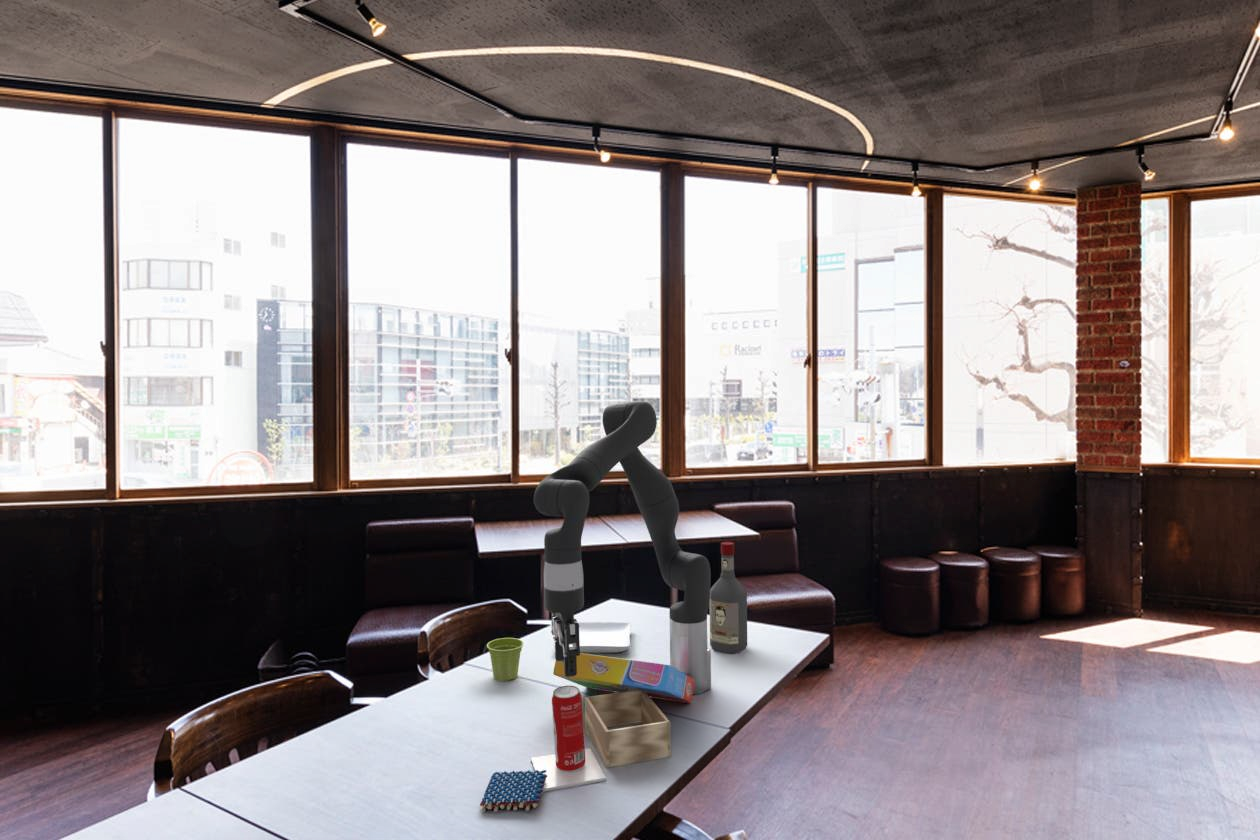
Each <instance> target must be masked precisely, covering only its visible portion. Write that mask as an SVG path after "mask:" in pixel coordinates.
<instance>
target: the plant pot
mask: <svg viewBox="0 0 1260 840" xmlns="http://www.w3.org/2000/svg"><path fill="white" fill-rule="evenodd" d="M523 646H524V641H523V640H522V639H520V638H515V637H503V638H496V639H493V640H491V641H489V642H488V643H486V647H487V650H488V652H489V655H490V661H491V669H492V676H493V678H494V679H495V681H497V682H499V681H500V682H508V681H510V680H515V679H516V678H517V677H518V674H519V668H520V667H519V665H520V657H521V652H522V648H523Z"/></svg>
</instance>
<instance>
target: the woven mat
mask: <svg viewBox="0 0 1260 840" xmlns="http://www.w3.org/2000/svg"><path fill="white" fill-rule="evenodd" d="M542 773H543V774H542ZM544 773H546V770H543V771H541V770H540V771H538V770H536V771H535V770H533V771H531V770H530V769H528V770H527V771H526V770H524V771H523V770H519V771H515V770H512V771H509V772H507V770H504V771H495V772H494V773H492V775H491V777H490V779H489V782H488V784H487V786H486V789H485V791H484V793H483V795H484V796H483V797H482V798H481V802H480V803H479V806H480V807H481V809H480V812H481V813H482V814H483V813H485V812H486V810H492V809H493V808H494V809H493V812H495V813H497V812H498V810H499V808H500V809H501V810H504V809H505V808H506V810H507V811H511V807H512V806H513V811H517V810H518V808H520V809H523V808H524V807H525V811H526V812H527V811H530V808H531V805H532V807H533V808H534V809H536V808H537V807H538V805H539V804H540V803H541V798H542V793H543V789H542V788H543V786H544V784H545V781H546V777H547V775H546V774H544Z"/></svg>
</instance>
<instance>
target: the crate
mask: <svg viewBox="0 0 1260 840" xmlns="http://www.w3.org/2000/svg"><path fill="white" fill-rule="evenodd" d="M584 721H585V725H584V727H585V729H584V730H585V731H586V733H587V735H588V736H589V738H590V740H591V742H592V744H593V746H594V747H595V748H594V749H596V752H598V756H600V758H601V760H602V762H603V764H604V765H605V767H606V768H607V769H608V768H612V767H618V766H619V767H620V766H625V765H629V764H630V765H631V764H635V763H642V762H646V761H647V762H648V761H653V760H659V759H664V758H670V757H671V721H670V720H669V719H668V718H667V716H666V715H665V714H664V713H663V711H662V710H661V709H660V708H659V706H658V705H657V704H656V703H655V702H654V701H653V700H652V697H649V696H648V695H647V693H646V692H645V691H644V690H643V689H639V690H632V691H625V692H612V693H606V694H599V695H590V696H585V697H584ZM635 723H636V724H637V723H642V724H639V725H633V726H628V727H627V726H626V727H621V728H620V727H619V728H613V729H608V728H609V727H615V726H616V727H617V726H622V725H629V724H635Z"/></svg>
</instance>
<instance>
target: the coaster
mask: <svg viewBox="0 0 1260 840" xmlns="http://www.w3.org/2000/svg"><path fill="white" fill-rule="evenodd" d="M530 762H531V764H532V767H533V771H536V770H538V771H540V770H541V771H543V770H546V773H544V774H546V775H547V777H546V781H545V784H544V786H543V788H542V789H543V792H549V791H554V790H561V789H566V788H571V787H576V786H582V785H587V784H593V783H597V782H598V783H599V782H604V781H606V779H607V778H606V776H605V774H604V772H603V770H602V768H601V766H600V765H599V763H598V761H597V759H596V757H595V755H594V754H593V751H592V750H591V748H585V764H584V766H583V767H582V768H581V769H579V770H577V771H574V772H563V771H561V770H559V769H558V768H557V766H556V759H555V753H554V754H553V753H552V754H548V755H547V754H546V755H541V756H533V757H530ZM542 774H543V773H542ZM543 792H542V793H543Z"/></svg>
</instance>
